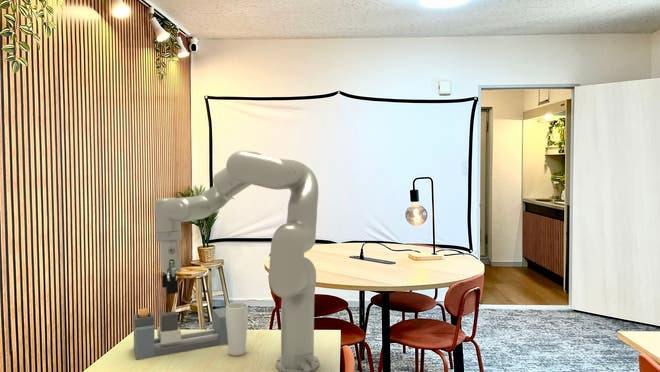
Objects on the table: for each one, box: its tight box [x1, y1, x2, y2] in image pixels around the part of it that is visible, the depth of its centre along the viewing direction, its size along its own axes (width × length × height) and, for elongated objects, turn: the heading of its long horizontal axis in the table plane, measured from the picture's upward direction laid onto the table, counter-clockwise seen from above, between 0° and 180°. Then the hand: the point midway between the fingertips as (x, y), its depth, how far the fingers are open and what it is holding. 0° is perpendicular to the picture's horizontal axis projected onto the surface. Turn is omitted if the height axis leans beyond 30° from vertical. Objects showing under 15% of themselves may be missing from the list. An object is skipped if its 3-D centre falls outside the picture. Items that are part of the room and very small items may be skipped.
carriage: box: [156, 311, 182, 344], centre depth 144 cm, size 6×8×8 cm
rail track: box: [133, 307, 228, 361], centre depth 146 cm, size 30×10×12 cm, turn 118°
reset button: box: [138, 307, 150, 318], centre depth 140 cm, size 3×3×3 cm
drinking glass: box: [225, 302, 249, 357], centre depth 140 cm, size 7×7×15 cm
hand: (169, 290), depth 143 cm, fingers open, 9 cm apart
